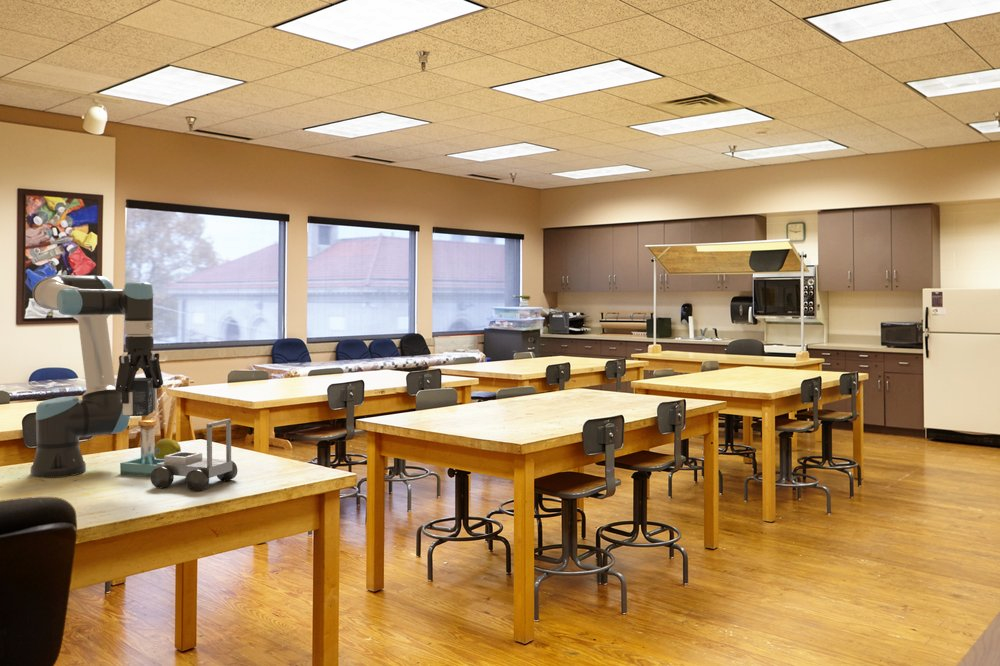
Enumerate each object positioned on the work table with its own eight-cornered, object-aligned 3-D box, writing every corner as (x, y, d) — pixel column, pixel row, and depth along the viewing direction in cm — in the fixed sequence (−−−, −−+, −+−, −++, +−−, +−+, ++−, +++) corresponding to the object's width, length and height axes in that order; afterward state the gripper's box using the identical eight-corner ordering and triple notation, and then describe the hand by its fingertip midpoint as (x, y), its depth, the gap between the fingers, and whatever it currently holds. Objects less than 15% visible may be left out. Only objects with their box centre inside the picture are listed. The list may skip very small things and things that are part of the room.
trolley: (150, 487, 233) (149, 422, 232) (187, 476, 248) (186, 414, 248) (203, 492, 228) (202, 425, 227) (237, 480, 243) (237, 417, 242)
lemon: (148, 461, 270) (148, 438, 269) (171, 458, 275) (170, 435, 275) (163, 466, 262) (162, 442, 262) (186, 463, 268) (186, 439, 268)
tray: (120, 474, 251) (120, 463, 251) (141, 468, 259) (140, 457, 259) (155, 477, 247) (155, 465, 247) (175, 471, 256) (174, 460, 255)
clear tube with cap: (135, 470, 251) (134, 421, 251) (146, 467, 256) (146, 419, 256) (149, 471, 250) (148, 422, 249) (160, 468, 255) (160, 420, 254)
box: (148, 416, 232) (147, 379, 231) (127, 416, 230) (126, 379, 230) (153, 412, 239) (153, 376, 239) (133, 412, 238) (132, 377, 238)
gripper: (121, 337, 222) (123, 418, 223) (175, 334, 243) (176, 408, 244) (99, 336, 224) (101, 417, 225) (155, 333, 246) (156, 407, 246)
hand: (140, 412), depth 235 cm, fingers closed on box, 9 cm apart
